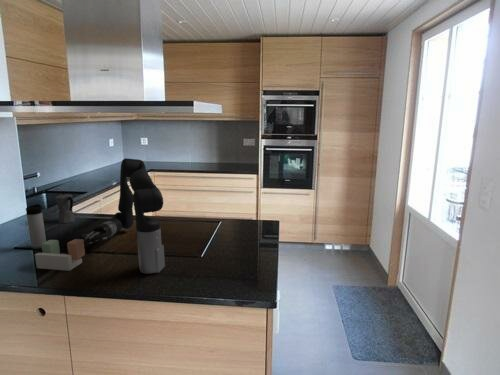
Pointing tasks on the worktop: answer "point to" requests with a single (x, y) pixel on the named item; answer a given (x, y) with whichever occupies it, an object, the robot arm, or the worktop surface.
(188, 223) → the worktop surface
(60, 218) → the coffeepot
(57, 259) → the console
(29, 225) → the travel mug
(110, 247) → the worktop surface
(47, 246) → the green rectangular block
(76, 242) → the terracotta rectangular block
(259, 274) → the worktop surface
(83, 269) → the worktop surface
